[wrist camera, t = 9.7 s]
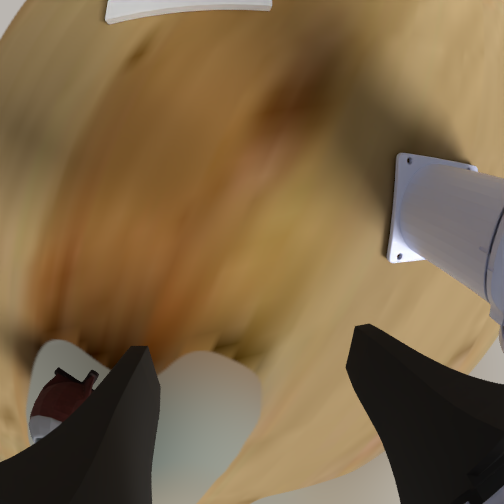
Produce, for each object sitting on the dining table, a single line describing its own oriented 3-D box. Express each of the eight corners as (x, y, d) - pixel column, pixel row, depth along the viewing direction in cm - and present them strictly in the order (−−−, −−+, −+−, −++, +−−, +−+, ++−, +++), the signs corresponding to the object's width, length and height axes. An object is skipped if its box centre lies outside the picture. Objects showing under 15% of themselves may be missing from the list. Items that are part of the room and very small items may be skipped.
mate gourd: (131, 389, 21) (107, 547, 7) (101, 421, 22) (78, 543, 9) (59, 343, 19) (-10, 492, 5) (40, 384, 20) (-7, 501, 6)
